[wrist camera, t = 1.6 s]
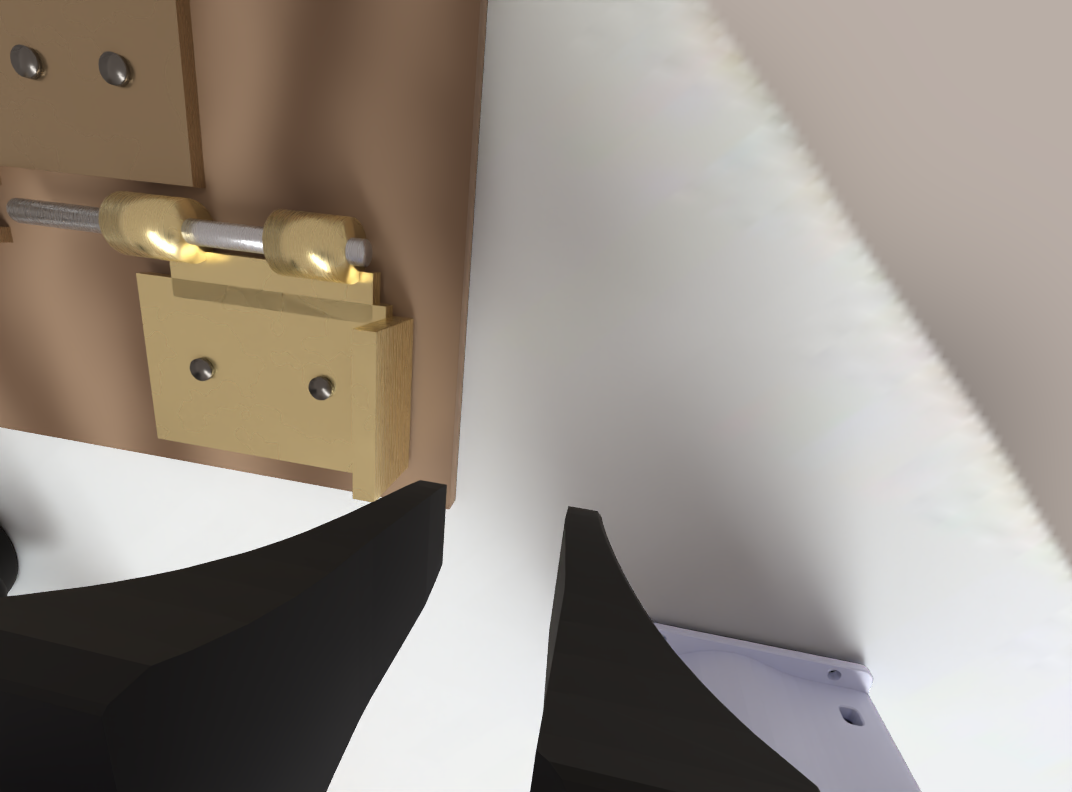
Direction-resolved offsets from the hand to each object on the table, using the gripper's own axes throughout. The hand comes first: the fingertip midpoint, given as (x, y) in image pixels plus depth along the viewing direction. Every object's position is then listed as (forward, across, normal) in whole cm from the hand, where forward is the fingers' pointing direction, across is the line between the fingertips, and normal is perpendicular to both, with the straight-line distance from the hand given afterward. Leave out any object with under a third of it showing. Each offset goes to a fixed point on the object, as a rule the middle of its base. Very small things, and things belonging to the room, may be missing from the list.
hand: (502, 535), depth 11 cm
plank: (+9, +16, -5) cm, 19 cm away
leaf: (+8, +13, -1) cm, 15 cm away
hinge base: (+9, +20, -9) cm, 23 cm away
